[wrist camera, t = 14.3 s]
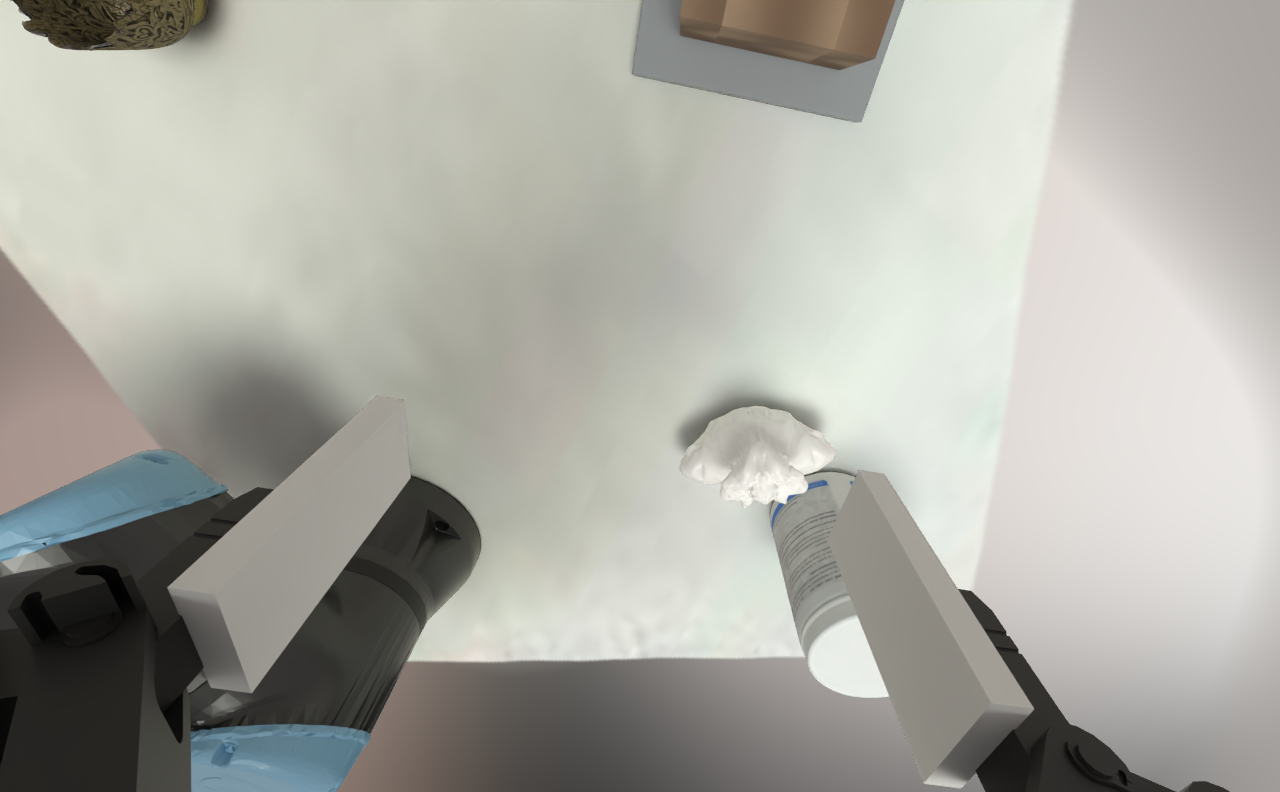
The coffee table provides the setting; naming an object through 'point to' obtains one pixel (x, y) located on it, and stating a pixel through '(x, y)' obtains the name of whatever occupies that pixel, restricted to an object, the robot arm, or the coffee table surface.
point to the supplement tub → (823, 588)
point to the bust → (757, 455)
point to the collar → (792, 28)
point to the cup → (112, 22)
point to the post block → (752, 68)
